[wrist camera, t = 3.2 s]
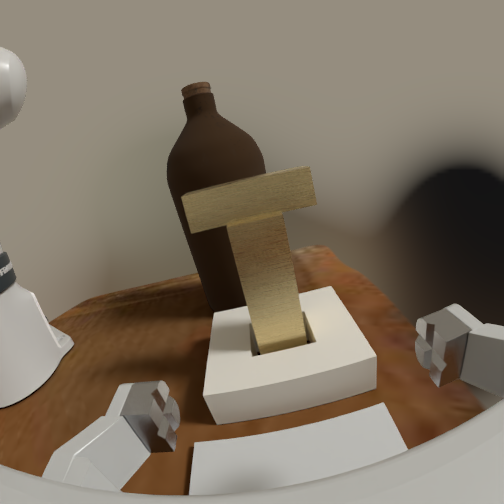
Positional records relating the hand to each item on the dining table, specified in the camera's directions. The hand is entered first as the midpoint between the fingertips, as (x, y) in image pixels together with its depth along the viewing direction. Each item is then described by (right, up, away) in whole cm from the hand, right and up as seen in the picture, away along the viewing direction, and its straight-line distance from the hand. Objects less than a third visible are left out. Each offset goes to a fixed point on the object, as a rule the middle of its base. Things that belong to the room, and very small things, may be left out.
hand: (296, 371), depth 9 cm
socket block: (+1, -5, +15) cm, 16 cm away
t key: (+1, -5, +15) cm, 16 cm away
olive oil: (-2, -2, +28) cm, 28 cm away
